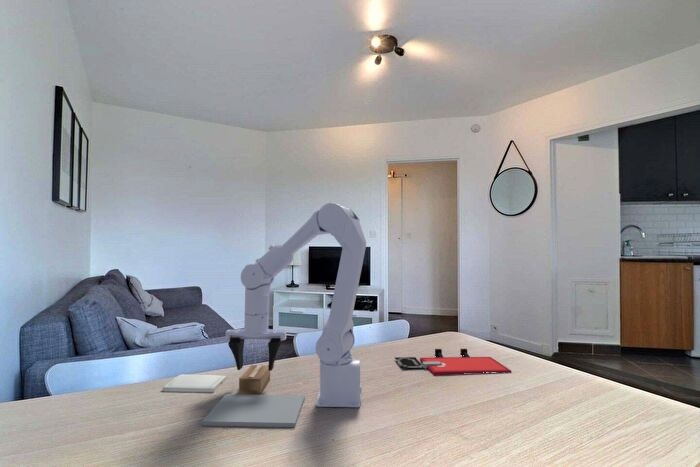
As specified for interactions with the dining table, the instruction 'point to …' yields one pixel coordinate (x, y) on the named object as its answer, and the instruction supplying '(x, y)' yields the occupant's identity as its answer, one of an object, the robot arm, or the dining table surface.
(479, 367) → the red board with handle
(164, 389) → the hard drive
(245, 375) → the taped cardboard box
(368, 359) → the dining table surface
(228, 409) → the rubber mat
